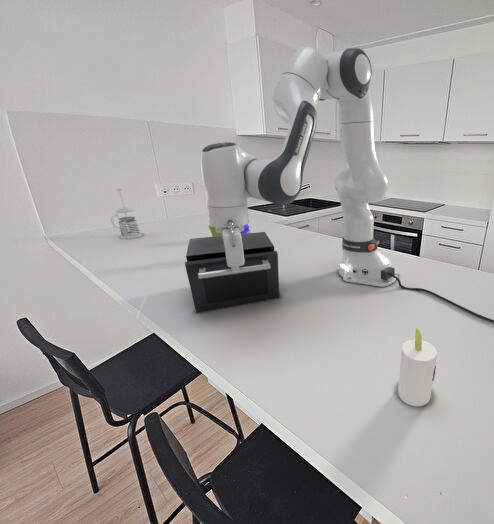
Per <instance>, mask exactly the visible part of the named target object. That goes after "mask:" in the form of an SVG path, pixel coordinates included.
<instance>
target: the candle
mask: <svg viewBox="0 0 494 524" xmlns="http://www.w3.org/2000/svg"><path fill="white" fill-rule="evenodd" d="M437 352H438V351H437V349H436V347H435V346H434V345H433V344H432V343H430V342H428V341H425V340H423V338H422V332H421V331H420V329H419V328H418V327H416V328H415V334H414V339H409V340H406V341H405V342H403V344H402V346H401V355H400V364H399V365H400V366H399V377H398V388H397V394H398V396H399V398H400V400H401V401H402V402H404V403H405V404H407V405H409V406H412V407H422V406H425V405H427V404H428V403H429V402H430V400H431V396H432V391H433V390H432V388H433V384H434V383H433V382H434V381H435V378H436V377H435V376H436V369H437V365H436V362H437V361H436V360H437V355H438V353H437Z"/></svg>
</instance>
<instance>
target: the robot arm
mask: <svg viewBox="0 0 494 524" xmlns="http://www.w3.org/2000/svg"><path fill="white" fill-rule="evenodd" d="M372 73H373V70H372V63H371V60H370V58H369V57H368V55H367V53H366V52H365V51H364V50H363V49H362V48H358V47H349V48H346V49H343V50H336V51H332V52H330V53H328V54H326V55H323V54H322V53H321V52H320V51H319V50H318V49H316V48H315V47H313V46H307V45H305V46H302V47H300V48H298V49H297V50H296V51H295V52H294V53H293V55H292V56H291V57H290V59H289V60H288V61H287V63H286V64H285V66H284V68H283V69H282V71H281V73H280V75H279V77H278V79H277V81H276V84H275V86H274V89H273V92H272V96H271V101H272V106H273V109H274V110H275V111H274V112H276V114H277V115H278V116H279V118H280V119H281V120H282V121H283V122H285V124H287V125H288V129H287V132H286V135H285V139H284V142H283V145H282V148H281V151H280V153H278V155H277V156H276V157H274V158H271V159H268V158H267V159H266V158H258V157H257V156H254V155H252V154H250V153H248V152H246V151H245V150H244V149H242V148H241V147H239V145H238V143H235V142H227V141H226V142H217V143H212V144H208V145H207V146H204V148H203V149H202V150H201V154H200V168H201V169H200V170H201V171H200V172H201V179H202V185H203V188H204V190H205V193H206V201H205V207H206V212H207V213H206V214H207V218H208V225H210V226H212V227H216V232H218V233H221V234H222V238H223V241H224V247H225V254H226V261H227V265H228V267H231V268H232V272H233V273H238V272H240V269H239V266H242V265H244V252H243V244H242V237H241V233H240V232H242V231H244V225H247V224H248V225H249V223H250V217H249V207H248V199H249V198H252V199H256V200H260V201H264V202H269V203H271V204H274V205H277V206H288V205H290V204H292V203H293V202H294V201H295V200H296V199H297V198H298V196H299V195H300V193H301V189H302V186H303V178H304V171H305V167H306V163H307V160H308V156H309V153H310V151H311V147H312V143H313V141H314V137H315V133H316V130H317V126H318V125H317V124H318V113H317V107H318V104H319V102H320V101H327V100H336V101H337V104H338V120H339V121H338V122H339V124H338V125H339V137H340V150H341V152H342V154H343V155H344V157H345V159H346V162H347V163H346V164H347V166H348V167H344V168H341V169H340V170H339V171H337V173H336V174H335V176H334V179H333V185H334V188H335V190H336V192H337V194H338V198H339V203H340V207H341V212H342V220H343V226H342V227H343V236H342V238H341V239H342V240H341V248H342V258H341V263H340V268H339V270H338V274H339V276H341V278H342V281H344V282H347V283H352V284H353V283H354V284H359V285H367V286H374V287H380V288H385V287H387V286H390V285H393V283H395V282H396V281H397V283H398V286H399V287H400V288H401V289H403V290H409V291H420V292H424V293H427V294H430V295H432V296H434V297H436V298H438V299H440V300H443V301H444V302H446V303H449V304H450V305H452V306H454V307H456V308H458V309H460V310H462V311H464V312H467V313H469V314H470V315H472V316H474V317H477V318H479V319H482V320H485V321H487V322H490V323H491V324H494V319H492V318H489V317H486V316H484V315H482V314H479V313H477V312H474V311H473V310H470V309H468V308H466V307H464V306H462V305H459V304H458V303H456V302H454V301H452V300H450V299H448V298H446V297H443V296H441V295H439V294H437V293H435V292H433V291H431V290H428V289H425V288H421V287H406V286H405V285H404V286H403V285H402V283H401V282H402V281H401V280H400V278H398V276H399V275H398V272H397V271H396V270H395V267H393V264H392V261H391V259H390V258H388V256H387V255H385V254H384V253H383V252H382V251H381V250H380V249H379V248H378V245H379V244H380V240H376V239H375V237H374V229H375V228H374V227H375V226H374V225H375V219H374V218H375V217H374V214H373V213H372V211H371V208H370V205H369V204H376V203H380V202H381V201H383V200H384V199H385V198H386V196H387V194H388V192H389V180H388V177H386V175H385V174H384V172H383V171H382V168H381V166H380V163H379V160H378V155H377V151H376V145H375V127H374V126H375V124H374V123H375V122H374V109H373V103H372V102H373V101H372V97H371V93H370V92H371V91H370V89H369V88H370V85H371V81H372Z"/></svg>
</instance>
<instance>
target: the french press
mask: <svg viewBox="0 0 494 524" xmlns="http://www.w3.org/2000/svg"><path fill="white" fill-rule="evenodd" d="M116 191H117V192H119V195H120V199H121V202H122V206H123V207H120V208H117V209H116V210H115V211H114V212H115V214H113V215H112V217H111V218H110V219H111V220H110V222H111V224H112V226H113V227H114V228H117V229H119V231H120V234H121V236H120V238H121V239H124V240H125V239H128V240H129V239H135V238H140V237H142V236H143V234H142V233H141V232H140V228H139V225H138V221H137V219H136V217H135V216H127V213H133V212H134V211H135V209H134V208H131V207H126V206H124V201H123V198H122V194H121V191H122V188H119V187H118V188H116ZM117 213H118V214H122V213H123V214H125V216H123V217H120V216H119V215H118V214H117ZM115 217H117V218H118V220H119V221H118V225H119V227H118V226H116V225H115V221H114V220H115Z"/></svg>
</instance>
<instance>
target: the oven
mask: <svg viewBox="0 0 494 524" xmlns="http://www.w3.org/2000/svg"><path fill="white" fill-rule="evenodd" d="M241 237H242V244H243V252H244V255H247V254H256V253H264V252H272V251H275V245H274V244H273V242H272V240H271V239H270V237H269V236H268V234H267V233H266V231H257V232H251V233H246V234H241ZM187 244H188V245H187V250H186V253H185V259H186V262H189V261H197V260H206V259H214V258H222V257H226V254H225V247H224V241H223V238H222V236H215V237H212V236H205V237H193V238H189V240H188V243H187Z"/></svg>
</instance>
